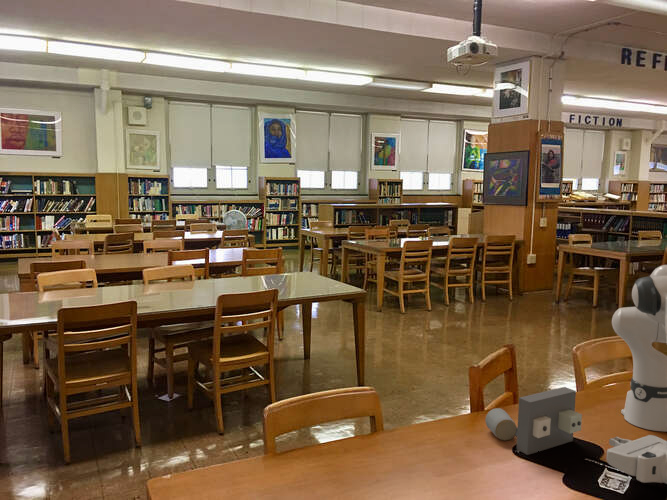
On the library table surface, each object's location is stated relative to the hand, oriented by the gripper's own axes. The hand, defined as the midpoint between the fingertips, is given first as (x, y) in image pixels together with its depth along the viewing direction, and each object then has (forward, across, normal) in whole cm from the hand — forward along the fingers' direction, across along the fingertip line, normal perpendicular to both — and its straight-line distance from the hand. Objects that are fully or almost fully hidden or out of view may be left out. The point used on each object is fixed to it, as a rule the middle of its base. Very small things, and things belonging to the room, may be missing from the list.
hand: (612, 440), depth 145 cm
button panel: (+18, +6, +8) cm, 20 cm away
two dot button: (+14, 0, +2) cm, 14 cm away
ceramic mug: (+28, +12, +8) cm, 31 cm away
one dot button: (+16, +11, +2) cm, 20 cm away
